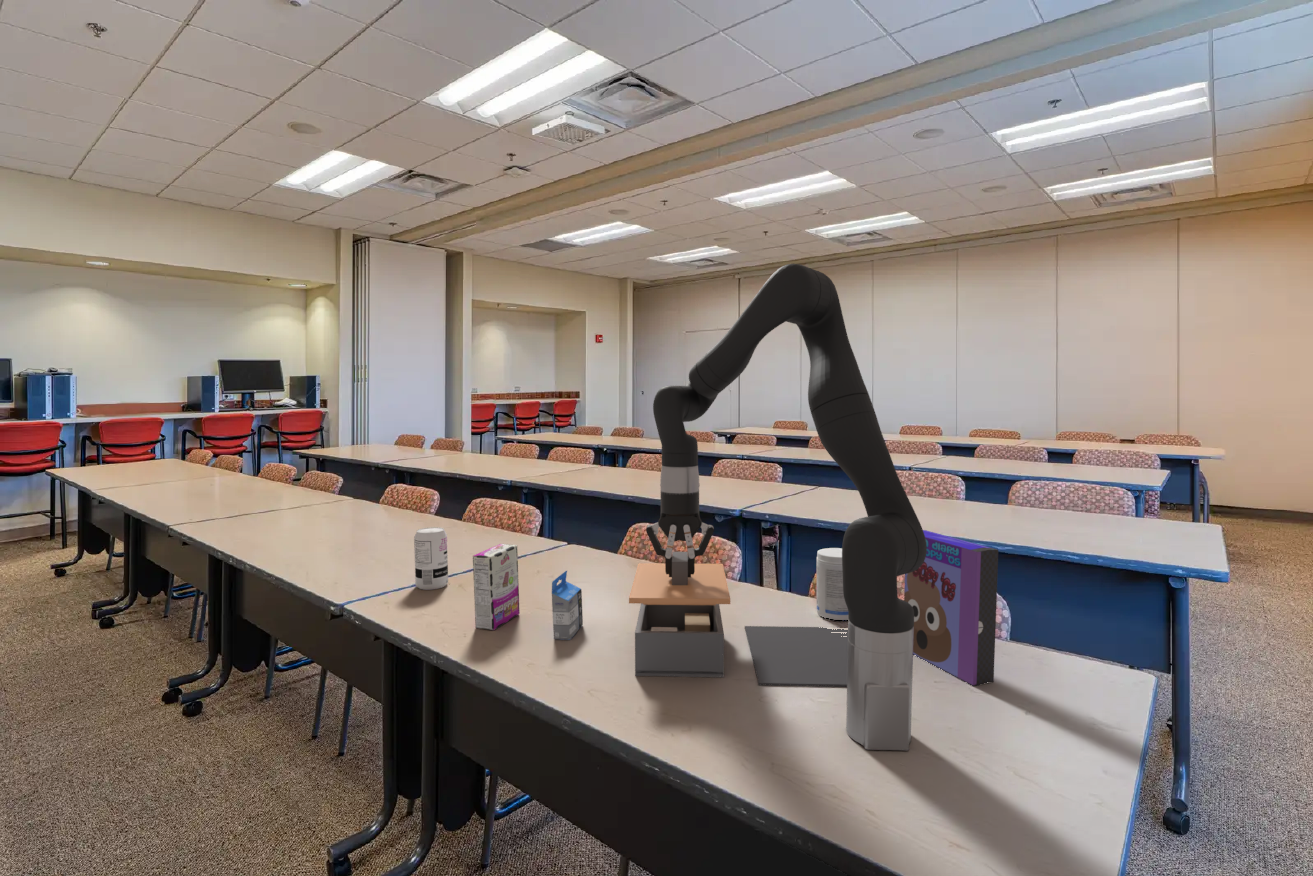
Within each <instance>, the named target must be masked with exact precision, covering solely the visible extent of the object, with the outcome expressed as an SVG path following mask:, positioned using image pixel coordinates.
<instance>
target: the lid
mask: <svg viewBox="0 0 1313 876" xmlns="http://www.w3.org/2000/svg"><path fill="white" fill-rule="evenodd" d="M728 586H729V585H728V582H727V577H726V573H725V568H724V564H723V563H695V572H694V574H691V577H688V551H672V577H669V574H666V572H665V563H663V562H662V563H660V562H659V563H658V562H657V563H655V562H654V563H652V562H650V563H649V562H646V563H645V562H644V563H640V562H638V564H637V567H636V571H635V574H634V579H633V582H632V586H631V588H630V592H629V596H628V604H641V603H642V604H643V605H716V604H719V605H731V595H730V591H729V587H728Z"/></svg>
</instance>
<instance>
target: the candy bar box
mask: <svg viewBox="0 0 1313 876" xmlns="http://www.w3.org/2000/svg"><path fill="white" fill-rule="evenodd" d="M518 562H519V559H518V545H517V544H511V543H510V544H508V543H499V544H497V545H495V546H491V547H489V548H488V549H485V550H483V551H480V552H479V553H476V554H474V555H472V568H473V569H472V570H473V571H472V572H473V592H474V595H473V596H474V599H473V600H474V616H475V618H474V620H475V624H474V625H475V629H478V630H487V631H495V630H497V629H498V628H500V627H501V626H503V625H504V624H506V623H508V622H509V621H511V620H512V619H514V618H515V617H517V616H519V615H520V591H519V589H520V588H519V585H520V584H519V563H518Z"/></svg>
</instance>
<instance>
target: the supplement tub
mask: <svg viewBox="0 0 1313 876" xmlns="http://www.w3.org/2000/svg"><path fill="white" fill-rule="evenodd" d="M816 613H817V615H818V616H820V617H821V616H822V617H821V618H823V617H824V618H823V619H826V618H829V619H828V620H830V619H834V620H848V608H847V605H846V602H845V599H844V594H843V572H842V547H841V548H840V547H829V548H828V547H827V548H822V549H819V550H817V553H816ZM834 620H833V621H834Z"/></svg>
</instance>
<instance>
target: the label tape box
mask: <svg viewBox="0 0 1313 876" xmlns="http://www.w3.org/2000/svg"><path fill="white" fill-rule="evenodd" d="M567 573H568V570H565V571H564V572H562V573H560V575H558V576H557V577H556V578H555V579H554V580H552V581H551V607H552V608H551V609H552V610H551V612H552V628H553V639H554V640H562V641H563V640H567V641H570V640H572V639H573V637H574V636H575V635H576V634H577V632H578V631H579V630H580V629H581V628H582V627H583V625H584V624H583V623H584V620H583V619H584V618H583V593H582V592H583V591H582V588H580V587H578V586H576V585H575V584H573V583H570V582H568V581H567V576H568V575H567ZM558 583H559V584H558Z"/></svg>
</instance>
